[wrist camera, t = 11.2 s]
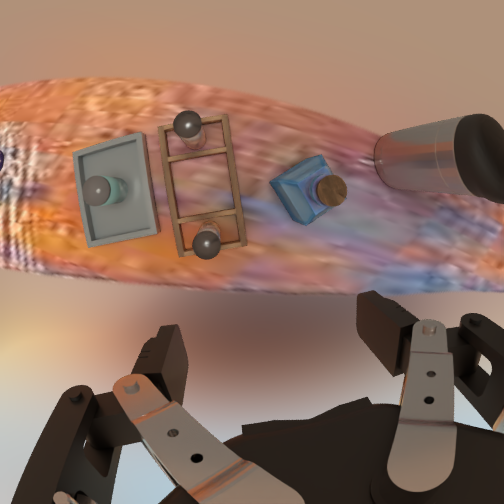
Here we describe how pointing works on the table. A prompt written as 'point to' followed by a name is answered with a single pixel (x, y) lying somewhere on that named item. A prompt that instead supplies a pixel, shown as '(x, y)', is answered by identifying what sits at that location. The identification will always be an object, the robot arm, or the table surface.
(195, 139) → the glass vial
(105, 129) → the table surface
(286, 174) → the perfume bottle
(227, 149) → the rack
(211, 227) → the canister
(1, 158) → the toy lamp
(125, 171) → the dish
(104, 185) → the cylinder
